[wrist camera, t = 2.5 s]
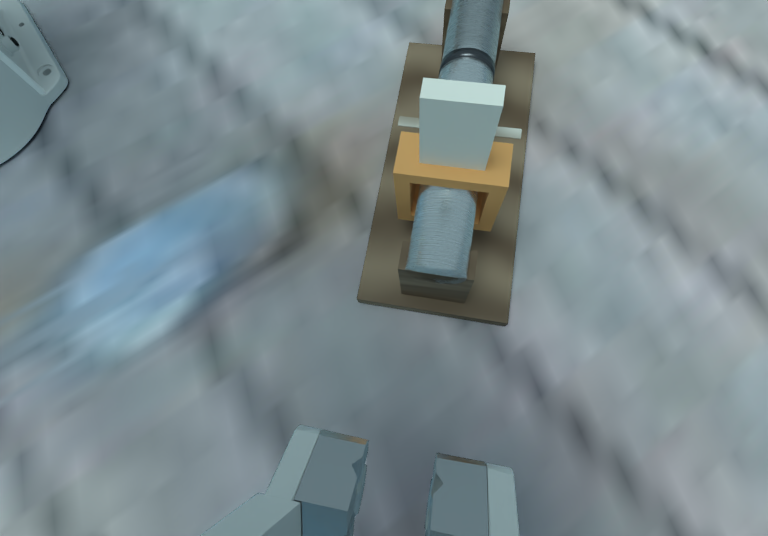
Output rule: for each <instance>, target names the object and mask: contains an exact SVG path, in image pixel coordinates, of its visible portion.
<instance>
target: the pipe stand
mask: <svg viewBox="0 0 768 536" xmlns="http://www.w3.org/2000/svg"><path fill="white" fill-rule="evenodd" d="M509 5H510V0H504V1H503V9H502V16H501V24H500V31H499V39H498V47H497V54H496V62H495V74H494V81H493V84H497V85H506V88H505V96H504V104H503V109H502V112H501V116H500V119H499V123H498V126H497V130H496V134H495V137H494V142H503V143H512V144H513V153H512V162H511V171H510V180H509V188H508V190H507V192H506V195H505V197H504V200H503V202H502V205H501V207H500V209H499V212H498V214H497V217H496V219H495V221H494V224H493V226H492V229H491V231H490V232H489V231H482V230H475V229H473V235H472V242H471V250H470V257H469V265H468V273H467V279H466V281H464V282H461V283H457V284H443V283H442V284H440V282H438V281H439V280H441V281H445V280H446V282H448V281H447V280H449V281H450V280H451V281H453V280H454V279H456V278H454V277H448V276H441V275H435V274H428V273H422V272H415V271H408V270H405V268H406V262H407V257H408V251H409V245H410V240H411V234H412V228H413V223H414V221H409V220H402V219H398V214H397V205H396V196H395V187H394V178H393V170H394V165H395V160H396V155H397V150H398V145H399V139H400V134H401V131H404V132H413V133H419V102H420V93H421V87H422V82H423V78H434V79H439V71H440V65H441V61H442V57H443V52H444V46H445V40H446V35H447V29H448V23H449V17H450V12H451V6H452V0H446V4H445V12H444V28H443V43H442V45H433V44H421V43H409V46H408V51H407V56H406V61H405V66H404V71H403V76H402V81H401V86H400V90H399V95H398V100H397V105H396V110H395V115H394V120H393V125H392V130H391V135H390V139H389V144H388V149H387V154H386V159H385V164H384V169H383V174H382V179H381V183H380V188H379V193H378V198H377V203H376V208H375V213H374V218H373V223H372V227H371V232H370V237H369V242H368V247H367V252H366V257H365V262H364V267H363V271H362V276H361V281H360V286H359V291H358V296H357V300H358V302H360V303H367V304H373V305H379V306H385V307H391V308H397V309H403V310H409V311H416V312H422V313H428V314H434V315H440V316H446V317H452V318H458V319H464V320H471V321H477V322H483V323H489V324H495V325H501V326H505V325H507V324H508V316H509V306H510V296H511V286H512V276H513V267H514V257H515V247H516V237H517V227H518V218H519V208H520V198H521V188H522V178H523V168H524V159H525V149H526V139H527V129H528V119H529V110H530V100H531V90H532V80H533V70H534V60H535V53H527V52H515V51H503V50H500V48H501V44H502V39H503V35H504V31H505V26H506V22H507V18H508V13H509ZM434 279H435V280H434ZM436 280H437V281H436ZM457 280H458V278H457ZM454 281H455V280H454Z"/></svg>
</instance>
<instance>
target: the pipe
mask: <svg viewBox="0 0 768 536" xmlns="http://www.w3.org/2000/svg"><path fill="white" fill-rule="evenodd" d="M503 1H504V0H452V6H451V12H450V17H449V23H448V29H447V35H446V40H445V46H444V52H443V57H442V61H441V65H440V71H439V79H444V80H455V81H465V82H476V83H486V84H493V81H494V74H495V62H496V54H497V47H498V39H499V31H500V24H501V16H502V9H503ZM477 197H478V191H470V190H462V189H454V188H447V187H439V186H431V185H423V184H420V188H419V194H418V200H417V205H416V211H415V217H414V223H413V228H412V234H411V240H410V245H409V251H408V257H407V262H406V268H405V270H408V271H415V272H422V273H428V274H435V275H441V276H448V277H454V278H456V279H454V280H455V281H454V280H453V281H451V280H450V281H449V280H447V281H448V282H446V280H445V281H441V280H439V281H438V282H440V284H442V283H443V284H457V283H461V282H464V281H466V279H467V273H468V265H469V257H470V250H471V242H472V235H473V227H474V220H475V212H476V205H477ZM457 278H458V280H457ZM434 280H435V279H434ZM436 281H437V280H436Z"/></svg>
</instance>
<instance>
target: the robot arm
mask: <svg viewBox="0 0 768 536" xmlns="http://www.w3.org/2000/svg"><path fill="white" fill-rule="evenodd" d="M67 84H68V79H67V77H66V75H65V73H64V72H63V70H62V68H61V66H60V65H59V63H58V61H57V60H56V58H55V56H54V55H53V53H52V51H51V49H50V48H49V46H48V44H47V43H46V41H45V39H44V38H43V36H42V34H41V32H40V31H39V29H38V27H37V26H36V24H35V22H34V21H33V19H32V17H31V15H30V14H29V12H28V10H27V9H26V7H25V6H24V4H23V3H21V2H20V1H19V0H0V164H1V163H3V162H5V161H6V160H8V159H9V158H11V157H12V156H13V155H15V154H16V153H17V152H18V151H20V150H21V149H22V148H23V147H24V146H25V145H26V144H27V143H28V142H29V140H30V139H31V138H32V137H33V135H34V134H35V133H36V131H37V130H38V128H39V126H40V125H41V123H42V121H43V119H44V116H45V114H46V112H47V110H48V108H49V107H50V105H51V104H52V103H53V102H54V101H55V100H56V99H57V97H58V96H59V95H60V94H61V93H62V92H63V91H64V89H65V88H66V86H67ZM368 445H369V440H366V439H362V438H357V437H353V436H349V435H344V434H340V433H336V432H331V431H327V430H322V429H318V428H313V427H309V426H304V425H299V426H298V427H297V428H296V430H295V431H294V433H293V435H292V437H291V439H290V441H289V444H288V446H287V448H286V450H285V452H284V454H283V456H282V459H281V461H280V463H279V465H278V467H277V469H276V472H275V474H274V476H273V478H272V480H271V482H270V485H269V487H268V489H267V491H266V493H265V494H261V493H257V494H256V495H254V496H253V497H252V498H250V499H249V500H248V501H246V502H245V503H243V504H242V505H241V506H239V507H238V508H237V509H235V510H234V511H233V512H231V513H230V514H229V515H227V516H226V517H225V518H223V519H222V520H220V521H219V522H218V523H216V524H215V525H214V526H212V527H211V528H210V529H208V530H207V531H206V532H204V533H203V534H201V535H200V536H353V532H354V519H355V516H356V515H357V514H358V513H359V509H360V505H361V501H362V496H363V491H364V486H365V479H366V471H367V465H366V464H365V462H366V458H367V454H368ZM425 530H426V533H425V536H520V533H519V523H518V512H517V502H516V491H515V481H514V473H513V471H512V469H511V468H510V467H505V466H500V465H495V464H490V463H485V462H482V461H477V460H472V459H466V458H461V457H456V456H451V455H445V454H440V453H436V457H435V462H434V469H433V478H432V479H431V483H430V489H429V496H428V502H427V510H426V519H425Z"/></svg>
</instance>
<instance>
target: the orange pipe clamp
mask: <svg viewBox="0 0 768 536" xmlns="http://www.w3.org/2000/svg"><path fill="white" fill-rule="evenodd" d="M505 88H506V85H497V84H486V83H476V82H465V81H455V80H444V79H434V78H423V82H422V87H421V93H420V102H419V133H413V132H404V131H401V134H400V139H399V145H398V150H397V155H396V160H395V165H394V170H393V178H394V187H395V196H396V205H397V214H398V219H402V220H409V221H414V217H415V211H416V205H417V200H418V194H419V188H420V184H423V185H431V186H439V187H447V188H454V189H462V190H470V191H478V197H477V205H476V212H475V220H474V227H473V229H475V230H482V231H489V232H490V231H491V229H492V226H493V224H494V221H495V219H496V217H497V214H498V212H499V209H500V207H501V205H502V202H503V200H504V197H505V195H506V192H507V190H508V188H509V180H510V171H511V162H512V153H513V144H512V143H503V142H494V137H495V134H496V130H497V126H498V123H499V119H500V116H501V112H502V109H503V104H504V96H505Z"/></svg>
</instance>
